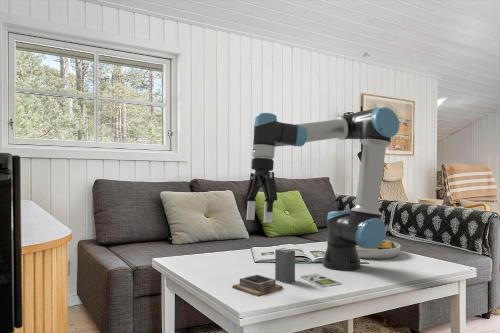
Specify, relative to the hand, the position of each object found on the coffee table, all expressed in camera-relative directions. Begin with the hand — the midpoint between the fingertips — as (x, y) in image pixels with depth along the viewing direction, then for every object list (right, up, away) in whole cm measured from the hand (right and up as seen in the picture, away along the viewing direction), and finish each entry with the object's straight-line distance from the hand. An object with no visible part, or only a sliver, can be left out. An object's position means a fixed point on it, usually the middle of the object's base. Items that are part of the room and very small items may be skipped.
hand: (258, 221), depth 135 cm
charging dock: (0, -23, +1) cm, 23 cm away
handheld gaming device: (+22, -24, +11) cm, 34 cm away
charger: (+10, -23, +10) cm, 27 cm away
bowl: (+53, -24, +58) cm, 82 cm away
